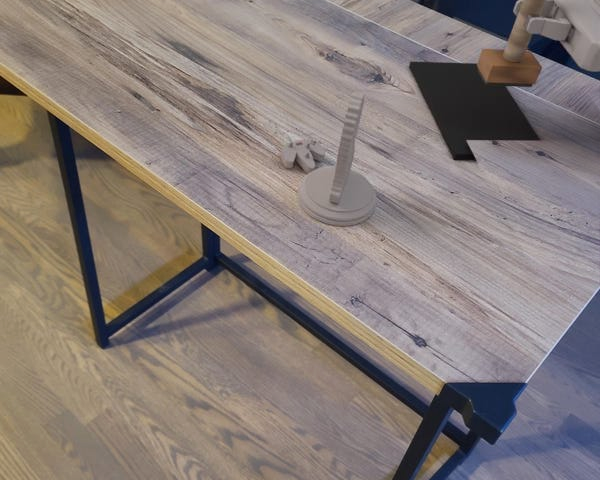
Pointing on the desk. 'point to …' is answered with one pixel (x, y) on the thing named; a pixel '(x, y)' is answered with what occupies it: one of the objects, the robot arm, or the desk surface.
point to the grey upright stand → (340, 181)
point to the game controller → (302, 153)
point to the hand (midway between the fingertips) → (521, 16)
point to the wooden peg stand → (513, 55)
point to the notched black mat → (469, 107)
